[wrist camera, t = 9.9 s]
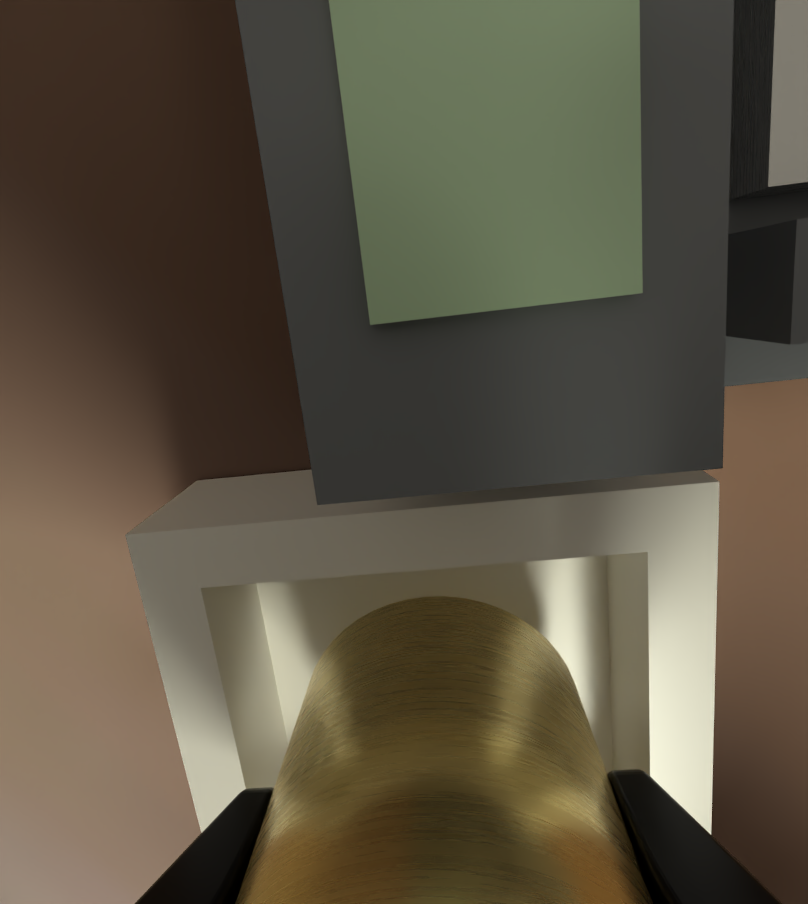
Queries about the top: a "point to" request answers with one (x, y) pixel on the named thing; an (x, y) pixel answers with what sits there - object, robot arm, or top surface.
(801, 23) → the plate
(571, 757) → the cell
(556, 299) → the grey holder
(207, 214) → the top surface
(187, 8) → the top surface
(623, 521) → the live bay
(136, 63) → the top surface
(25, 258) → the top surface
